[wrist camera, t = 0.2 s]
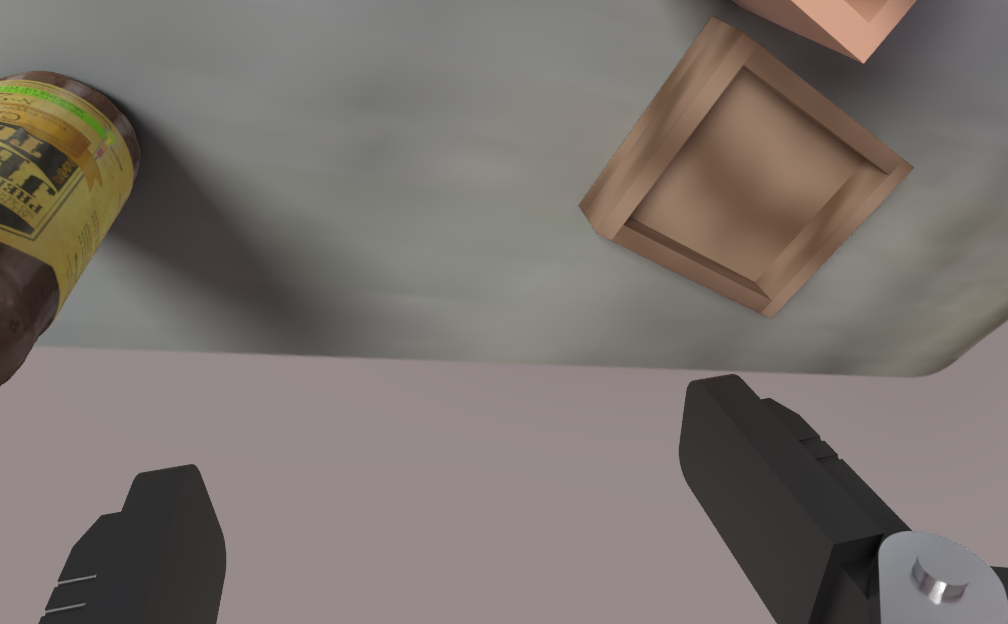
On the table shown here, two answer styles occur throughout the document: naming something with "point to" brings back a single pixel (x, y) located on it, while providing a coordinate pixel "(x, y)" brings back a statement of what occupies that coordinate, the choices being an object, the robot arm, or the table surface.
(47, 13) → the table surface
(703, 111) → the tray
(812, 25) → the pink open box
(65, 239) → the sauce bottle
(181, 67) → the table surface
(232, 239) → the table surface
